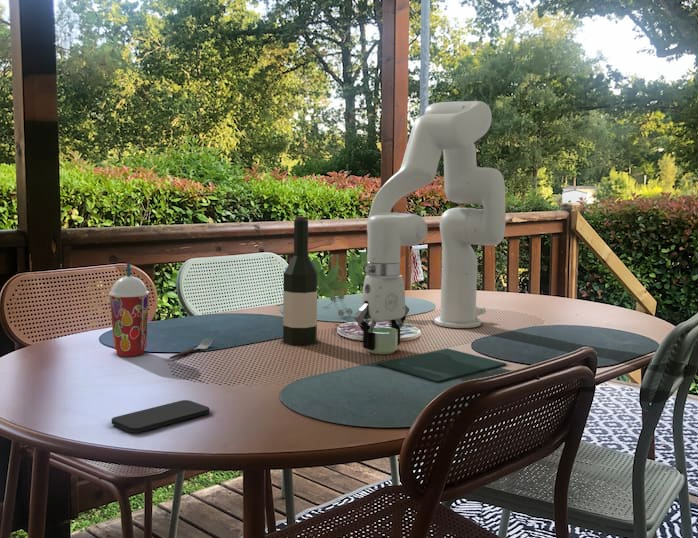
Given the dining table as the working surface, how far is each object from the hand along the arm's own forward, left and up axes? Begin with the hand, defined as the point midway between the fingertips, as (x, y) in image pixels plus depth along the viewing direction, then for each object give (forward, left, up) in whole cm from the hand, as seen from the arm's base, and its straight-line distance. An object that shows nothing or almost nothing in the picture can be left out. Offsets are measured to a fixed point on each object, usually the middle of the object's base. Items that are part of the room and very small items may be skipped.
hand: (381, 345), depth 173 cm
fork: (+35, -25, -2) cm, 43 cm away
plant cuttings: (-18, -40, -1) cm, 44 cm away
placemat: (-2, +17, -1) cm, 17 cm away
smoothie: (+46, -32, -1) cm, 56 cm away
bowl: (0, 0, -1) cm, 1 cm away
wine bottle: (+9, -19, -1) cm, 21 cm away
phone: (+61, +12, -1) cm, 62 cm away
